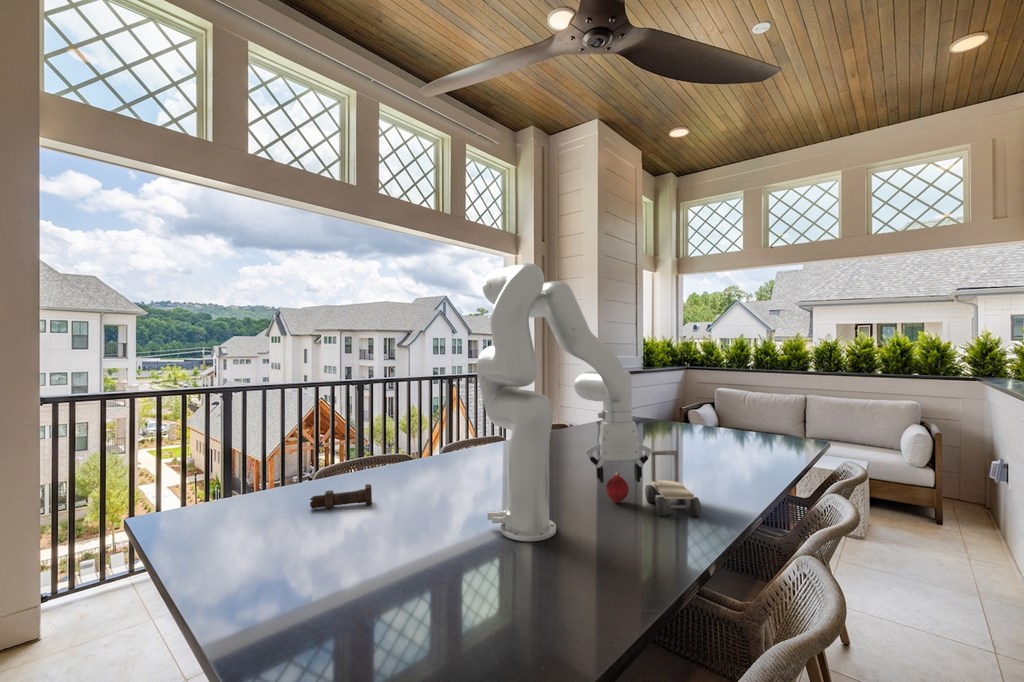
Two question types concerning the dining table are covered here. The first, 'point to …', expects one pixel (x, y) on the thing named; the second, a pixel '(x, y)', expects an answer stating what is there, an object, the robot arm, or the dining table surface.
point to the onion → (617, 488)
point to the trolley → (670, 490)
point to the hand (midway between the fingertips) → (619, 480)
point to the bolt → (342, 498)
